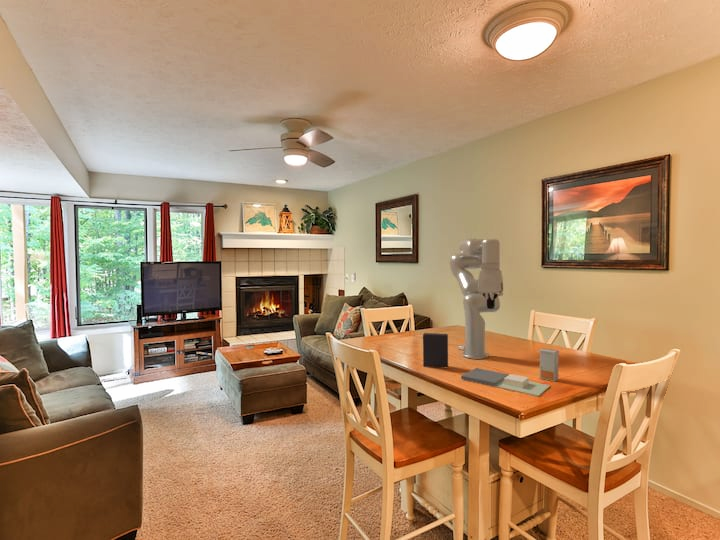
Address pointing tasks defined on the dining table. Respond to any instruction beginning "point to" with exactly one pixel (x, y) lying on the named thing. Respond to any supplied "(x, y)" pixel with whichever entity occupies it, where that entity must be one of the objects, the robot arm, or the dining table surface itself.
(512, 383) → the coaster tile
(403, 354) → the dining table surface
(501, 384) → the mat
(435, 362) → the black rectangular block
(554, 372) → the skincare box
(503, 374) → the board
